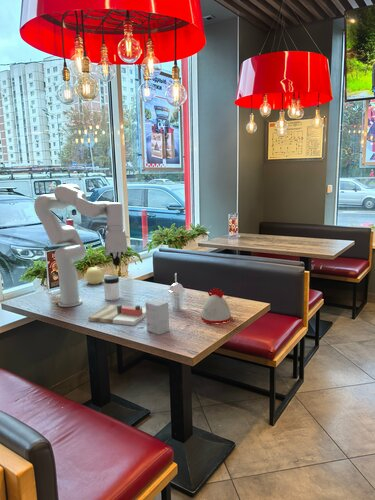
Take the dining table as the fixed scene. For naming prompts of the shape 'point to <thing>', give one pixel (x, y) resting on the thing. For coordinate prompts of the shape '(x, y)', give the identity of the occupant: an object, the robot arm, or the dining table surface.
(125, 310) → the swing bar
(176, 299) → the cup with straw
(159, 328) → the small box
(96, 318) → the tan wavy block
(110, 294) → the jar
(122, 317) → the door
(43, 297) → the dining table surface
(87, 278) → the pale yellow ball
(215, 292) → the kitchen timer
